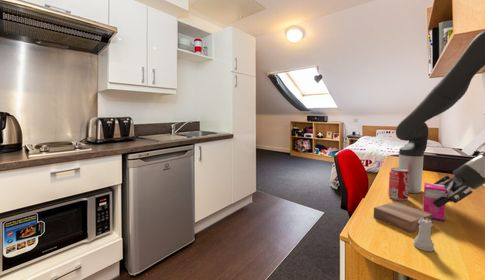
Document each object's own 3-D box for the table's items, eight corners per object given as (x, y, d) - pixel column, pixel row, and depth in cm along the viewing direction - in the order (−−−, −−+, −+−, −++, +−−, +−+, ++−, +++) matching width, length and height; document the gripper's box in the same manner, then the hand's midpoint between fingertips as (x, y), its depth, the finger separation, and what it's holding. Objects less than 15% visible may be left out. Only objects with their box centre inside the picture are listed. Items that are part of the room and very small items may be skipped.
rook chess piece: (428, 254, 58) (430, 225, 57) (409, 245, 62) (411, 218, 61) (437, 249, 60) (440, 221, 59) (419, 241, 64) (421, 214, 63)
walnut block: (394, 211, 84) (395, 201, 84) (431, 225, 73) (432, 214, 73) (373, 218, 79) (374, 207, 79) (410, 234, 69) (411, 222, 68)
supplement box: (422, 211, 83) (424, 182, 82) (443, 215, 79) (446, 185, 78) (422, 217, 79) (424, 186, 77) (444, 222, 75) (447, 189, 74)
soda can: (405, 202, 91) (407, 172, 90) (385, 198, 97) (387, 169, 95) (410, 198, 96) (412, 169, 95) (390, 194, 101) (392, 166, 100)
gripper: (456, 159, 80) (415, 186, 86) (479, 168, 67) (429, 199, 73) (474, 175, 79) (431, 201, 84) (501, 187, 66) (448, 217, 72)
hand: (430, 200), depth 79 cm, fingers open, 8 cm apart
